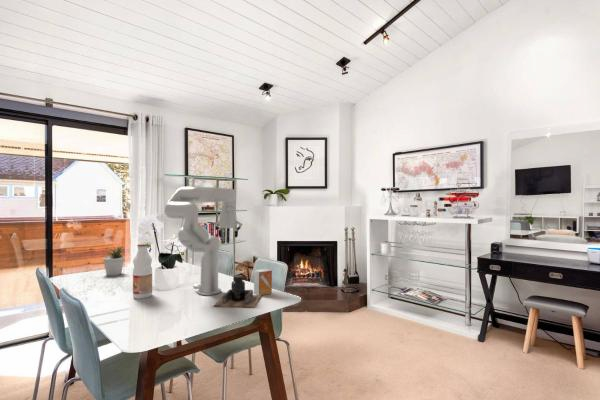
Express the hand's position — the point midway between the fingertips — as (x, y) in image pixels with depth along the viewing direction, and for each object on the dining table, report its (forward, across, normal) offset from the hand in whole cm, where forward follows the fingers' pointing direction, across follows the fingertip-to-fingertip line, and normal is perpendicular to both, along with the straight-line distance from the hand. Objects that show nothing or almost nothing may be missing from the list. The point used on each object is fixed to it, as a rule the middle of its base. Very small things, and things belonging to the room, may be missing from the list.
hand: (228, 237), depth 210 cm
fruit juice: (+28, -38, -30) cm, 56 cm away
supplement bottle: (+28, +15, -34) cm, 47 cm away
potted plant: (+28, -83, +17) cm, 89 cm away
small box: (+28, +25, -20) cm, 43 cm away
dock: (+28, +15, -35) cm, 47 cm away
